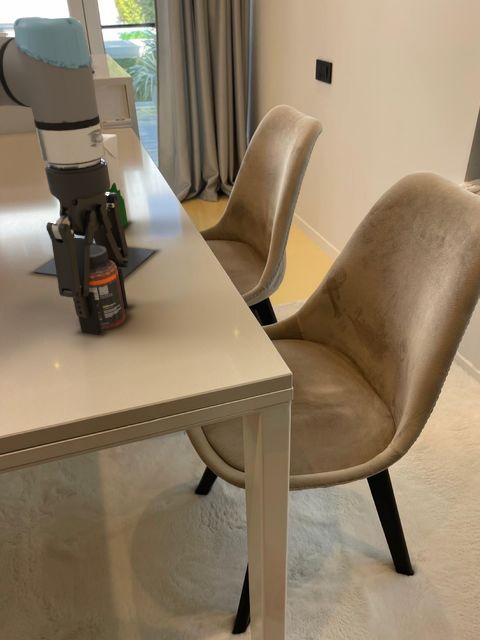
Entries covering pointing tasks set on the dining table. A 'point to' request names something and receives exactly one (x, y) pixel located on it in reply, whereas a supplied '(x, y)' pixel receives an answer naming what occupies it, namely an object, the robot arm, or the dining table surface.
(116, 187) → the milk carton
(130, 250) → the mat
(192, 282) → the dining table surface
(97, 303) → the supplement bottle
